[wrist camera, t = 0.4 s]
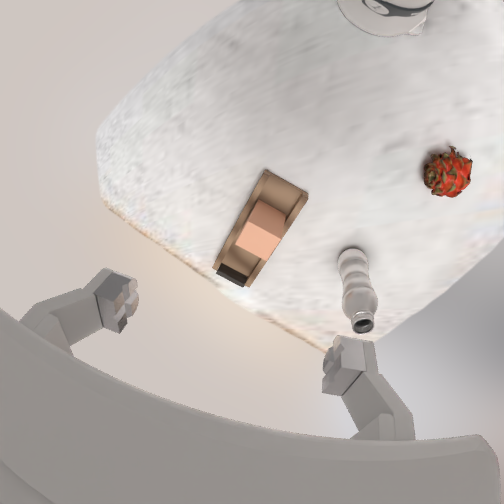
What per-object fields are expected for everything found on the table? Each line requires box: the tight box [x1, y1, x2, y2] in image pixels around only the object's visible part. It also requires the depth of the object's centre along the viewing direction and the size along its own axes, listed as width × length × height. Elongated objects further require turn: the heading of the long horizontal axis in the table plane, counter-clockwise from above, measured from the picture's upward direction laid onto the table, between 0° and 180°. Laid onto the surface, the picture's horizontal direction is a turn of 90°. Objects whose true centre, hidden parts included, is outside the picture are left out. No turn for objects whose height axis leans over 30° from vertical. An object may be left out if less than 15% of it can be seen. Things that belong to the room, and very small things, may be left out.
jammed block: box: [235, 200, 286, 261], centre depth 51 cm, size 5×6×10 cm
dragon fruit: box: [424, 146, 473, 198], centre depth 40 cm, size 8×8×12 cm
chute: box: [212, 170, 308, 287], centre depth 56 cm, size 24×9×4 cm, turn 153°
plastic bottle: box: [338, 248, 378, 334], centre depth 49 cm, size 6×7×20 cm
